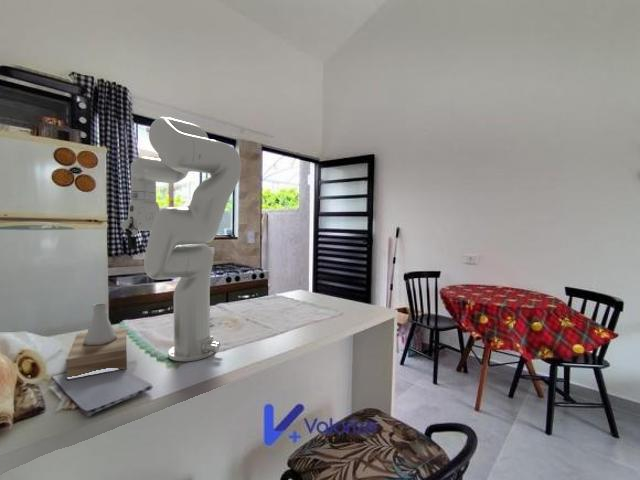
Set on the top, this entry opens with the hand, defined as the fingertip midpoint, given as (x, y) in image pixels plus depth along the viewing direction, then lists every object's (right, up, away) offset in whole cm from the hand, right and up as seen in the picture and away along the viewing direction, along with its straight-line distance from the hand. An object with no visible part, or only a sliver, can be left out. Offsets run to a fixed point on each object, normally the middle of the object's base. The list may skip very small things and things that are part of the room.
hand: (144, 247), depth 111 cm
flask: (+2, -25, -25) cm, 35 cm away
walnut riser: (+2, -30, -24) cm, 38 cm away
